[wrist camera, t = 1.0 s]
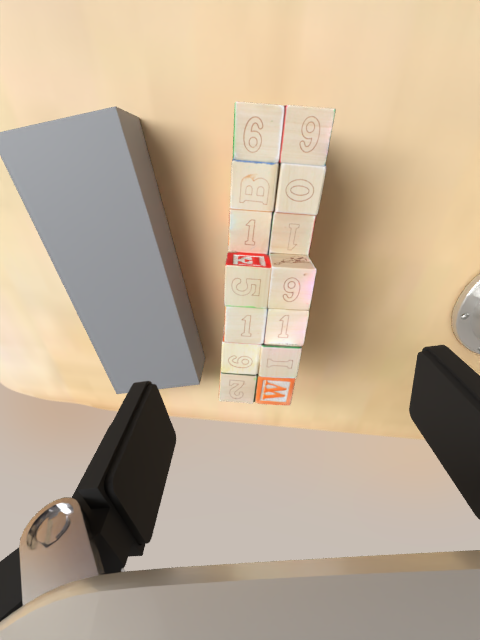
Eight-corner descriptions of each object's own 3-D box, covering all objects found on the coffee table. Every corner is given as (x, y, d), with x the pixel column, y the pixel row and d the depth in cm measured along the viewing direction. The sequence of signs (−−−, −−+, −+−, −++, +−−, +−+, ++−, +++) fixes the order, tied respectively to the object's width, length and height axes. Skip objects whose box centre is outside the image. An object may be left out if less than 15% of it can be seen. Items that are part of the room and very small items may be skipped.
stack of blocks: (238, 120, 25) (232, 83, 14) (309, 126, 25) (358, 95, 14) (226, 330, 35) (217, 403, 24) (277, 334, 35) (290, 409, 24)
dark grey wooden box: (138, 117, 25) (115, 106, 20) (205, 358, 37) (199, 384, 32) (33, 140, 26) (-10, 134, 21) (131, 367, 38) (116, 394, 33)
